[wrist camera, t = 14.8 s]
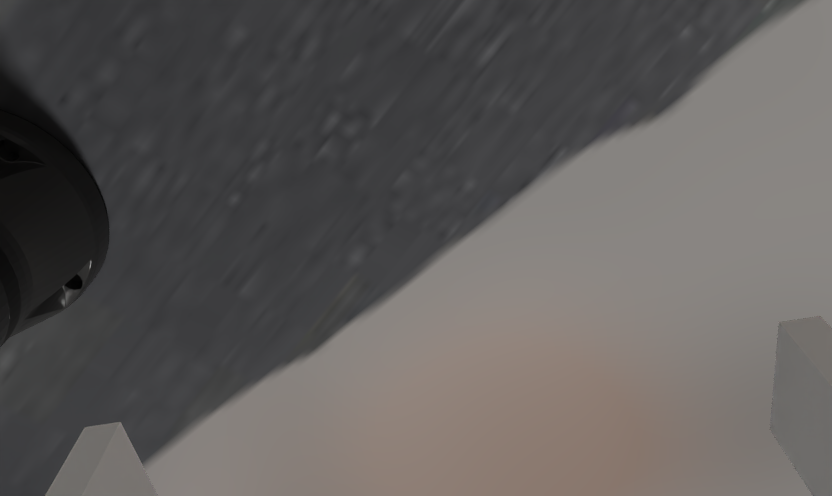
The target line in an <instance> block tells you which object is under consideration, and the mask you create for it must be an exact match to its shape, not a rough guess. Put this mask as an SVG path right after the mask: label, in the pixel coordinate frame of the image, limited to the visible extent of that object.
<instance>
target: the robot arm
mask: <svg viewBox="0 0 832 496" xmlns="http://www.w3.org/2000/svg"><path fill="white" fill-rule="evenodd" d="M108 244H109V224H108V217H107V213H106V209H105V206H104V203H103V200H102V198H101V195H100V193H99V191H98V189H97V187H96V185H95V183H94V182H93V180H92V178H91V177H90V175H89V174H88V172H87V171H86V170H85V168H84V167H83V166H82V164H81V163H80V162H79V161H78V160H77V159H76V158H75V157H74V155H73V154H72V153H71V152H70V151H69V150H68V149H66V148H65V147H64V146H63V145H62V144H61V143H60V142H58V141H57V140H56V139H55V138H53V137H52V136H51V135H49V134H48V133H46V132H45V131H43V130H42V129H40V128H39V127H37V126H35V125H33V124H31V123H30V122H28V121H26V120H24V119H22V118H19V117H17V116H15V115H12V114H10V113H7V112H4V111H1V110H0V347H1V346H2V345H3V344H4V343H5V341H6V340H7V339H8V338H9V337H11V336H13V335H15V334H17V333H19V332H21V331H23V330H25V329H27V328H29V327H31V326H34V325H36V324H38V323H40V322H42V321H44V320H46V319H48V318H50V317H52V316H54V315H56V314H57V313H59V312H61V311H63V310H64V309H66V308H67V307H68V306H70V305H71V304H72V303H73V302H74V301H76V300H77V299H78V298H79V297H80V296H81V295H82V293H83V292H84V291H85V290H86V288H87V287H88V286H89V285H90V283H91V282H92V281H93V279H94V278H95V277H96V275H97V274H98V272H99V271H100V269H101V267H102V265H103V263H104V260H105V257H106V254H107V250H108ZM770 430H771V432H772V434H773V435H774V437H775V438H776V440H777V441H778V443H779V445H780V446H781V448H782V449H783V451H784V452H785V454H786V455H787V457H788V458H789V460H790V461H791V463H792V465H793V466H794V467H795V469H796V471H797V472H798V474H799V475H800V477H801V478H802V480H803V481H804V483H805V485H806V486H807V488H808V489H809V491H810V492H811V494H812V495H813V496H832V328H831V327H830V326H829V325H828V324H827V323H826V321H825V320H824V319H823V318H822V317H821V316H816V317H810V318H803V319H797V320H790V321H783V322H779V326H778V338H777V351H776V362H775V374H774V387H773V398H772V410H771V422H770ZM45 496H158V494H157V493H156V491H155V489H154V487H153V485H152V483H151V481H150V479H149V477H148V475H147V473H146V471H145V469H144V467H143V465H142V463H141V461H140V459H139V457H138V455H137V454H136V452H135V450H134V448H133V446H132V444H131V442H130V440H129V438H128V436H127V434H126V432H125V430H124V428H123V426H122V424H121V422H117V423H110V424H104V425H97V426H90V427H85V428H84V430H83V431H82V433H81V435H80V436H79V438H78V440H77V442H76V443H75V445H74V447H73V448H72V450H71V452H70V454H69V455H68V457H67V459H66V461H65V462H64V464H63V466H62V467H61V469H60V471H59V473H58V474H57V476H56V478H55V480H54V481H53V483H52V485H51V486H50V488H49V490H48V492H47V493H46V495H45Z"/></svg>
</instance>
